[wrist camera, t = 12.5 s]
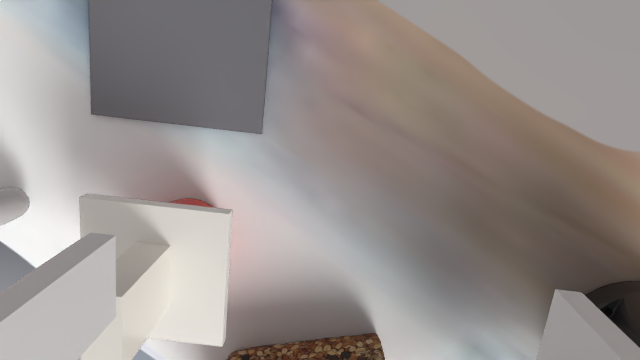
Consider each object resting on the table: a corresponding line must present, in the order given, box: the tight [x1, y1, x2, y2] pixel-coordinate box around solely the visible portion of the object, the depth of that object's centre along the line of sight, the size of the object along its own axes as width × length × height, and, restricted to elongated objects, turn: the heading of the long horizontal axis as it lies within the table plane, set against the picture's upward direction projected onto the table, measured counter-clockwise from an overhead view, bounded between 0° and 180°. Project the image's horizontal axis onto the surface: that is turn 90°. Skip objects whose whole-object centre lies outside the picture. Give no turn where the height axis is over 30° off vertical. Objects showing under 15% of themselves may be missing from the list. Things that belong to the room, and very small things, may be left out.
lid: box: [79, 194, 232, 360], centre depth 36 cm, size 13×13×10 cm
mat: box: [89, 0, 272, 134], centre depth 45 cm, size 18×16×1 cm
